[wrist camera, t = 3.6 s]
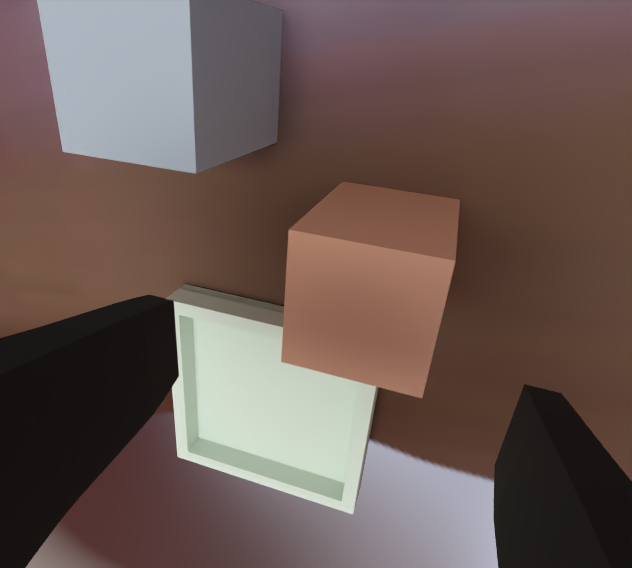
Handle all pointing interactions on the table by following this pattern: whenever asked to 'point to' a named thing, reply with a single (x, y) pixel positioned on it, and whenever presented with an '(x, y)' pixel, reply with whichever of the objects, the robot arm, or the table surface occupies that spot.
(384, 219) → the terracotta block
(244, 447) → the tray
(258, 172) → the table surface
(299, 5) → the table surface
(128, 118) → the slate block
